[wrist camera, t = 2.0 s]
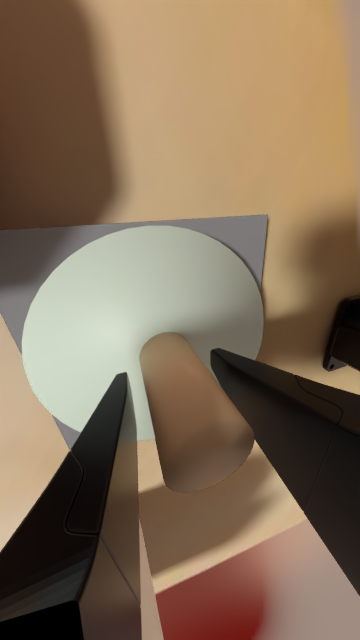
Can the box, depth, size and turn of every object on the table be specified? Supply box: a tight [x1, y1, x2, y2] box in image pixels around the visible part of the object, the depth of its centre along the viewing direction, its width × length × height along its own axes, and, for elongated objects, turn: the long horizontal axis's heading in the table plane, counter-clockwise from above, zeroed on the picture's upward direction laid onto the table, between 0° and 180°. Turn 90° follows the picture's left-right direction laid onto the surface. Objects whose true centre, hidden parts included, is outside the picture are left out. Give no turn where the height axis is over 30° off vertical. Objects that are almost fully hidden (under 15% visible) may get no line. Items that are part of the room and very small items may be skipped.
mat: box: [0, 215, 268, 451], centre depth 10 cm, size 12×12×1 cm
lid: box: [22, 226, 264, 493], centre depth 7 cm, size 12×12×6 cm
